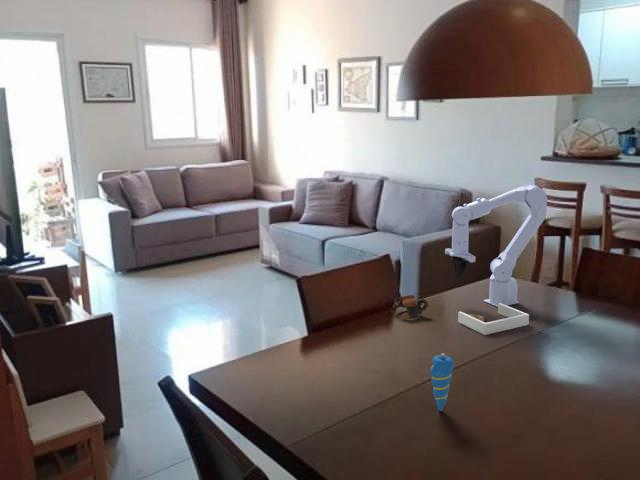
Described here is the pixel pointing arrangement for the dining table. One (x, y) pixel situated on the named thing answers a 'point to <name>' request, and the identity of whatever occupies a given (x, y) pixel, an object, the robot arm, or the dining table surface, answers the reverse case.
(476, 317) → the shard
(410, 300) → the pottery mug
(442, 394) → the ornament
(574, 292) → the dining table surface
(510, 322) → the box
